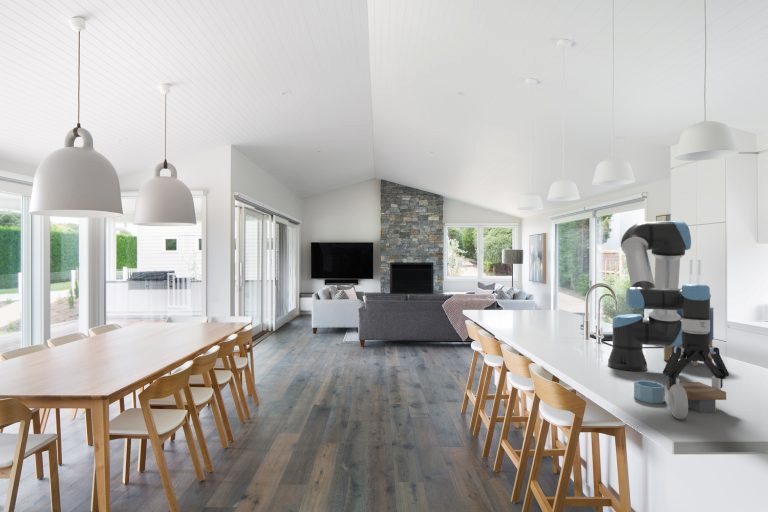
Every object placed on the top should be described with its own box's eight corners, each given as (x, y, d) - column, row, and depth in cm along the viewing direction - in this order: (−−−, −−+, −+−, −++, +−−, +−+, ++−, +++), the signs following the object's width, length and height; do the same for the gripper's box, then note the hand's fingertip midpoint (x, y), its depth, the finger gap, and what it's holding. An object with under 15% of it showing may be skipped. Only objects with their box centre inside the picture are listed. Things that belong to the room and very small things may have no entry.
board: (667, 389, 145) (667, 382, 145) (699, 389, 145) (699, 382, 145) (691, 399, 134) (691, 392, 134) (726, 399, 134) (726, 392, 134)
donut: (667, 412, 135) (667, 379, 135) (680, 413, 133) (680, 381, 133) (675, 423, 125) (675, 388, 125) (689, 425, 124) (690, 390, 124)
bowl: (629, 395, 151) (629, 380, 152) (653, 395, 152) (653, 380, 152) (645, 403, 143) (645, 387, 143) (669, 403, 143) (669, 387, 143)
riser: (677, 401, 145) (677, 389, 145) (691, 401, 145) (691, 389, 145) (699, 412, 135) (699, 399, 135) (715, 412, 135) (715, 399, 135)
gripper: (665, 333, 136) (665, 401, 135) (743, 334, 137) (743, 401, 136) (650, 330, 143) (650, 394, 143) (723, 330, 144) (723, 394, 144)
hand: (695, 398), depth 140 cm, fingers open, 13 cm apart
